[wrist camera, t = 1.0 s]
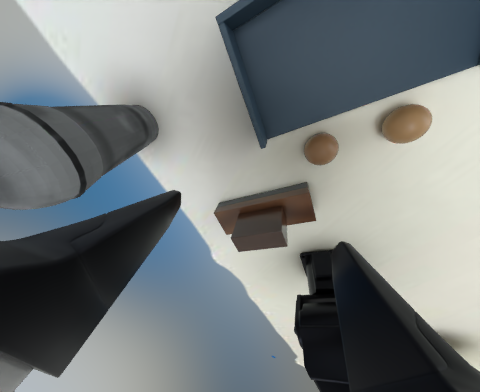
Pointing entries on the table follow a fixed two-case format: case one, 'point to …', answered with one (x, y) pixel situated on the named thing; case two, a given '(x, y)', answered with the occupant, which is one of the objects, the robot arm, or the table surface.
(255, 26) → the dustpan
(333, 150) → the brown rounded piece
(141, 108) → the beverage cup
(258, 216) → the brush
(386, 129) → the light brown ball
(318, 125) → the table surface
